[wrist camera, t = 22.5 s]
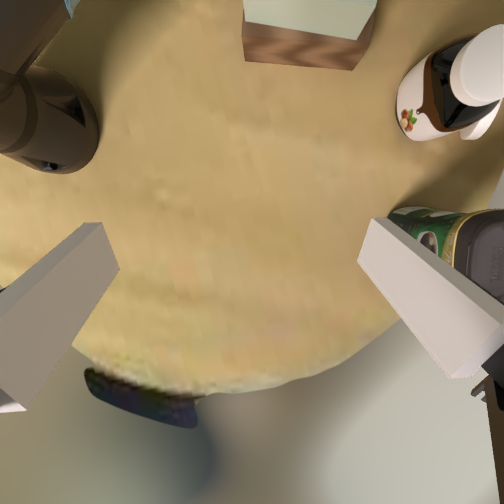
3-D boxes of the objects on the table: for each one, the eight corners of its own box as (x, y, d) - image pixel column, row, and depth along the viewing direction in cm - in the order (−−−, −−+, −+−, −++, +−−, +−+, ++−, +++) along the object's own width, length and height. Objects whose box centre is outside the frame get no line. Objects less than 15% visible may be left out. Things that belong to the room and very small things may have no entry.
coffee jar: (429, 259, 39) (569, 310, 21) (381, 264, 40) (479, 317, 22) (431, 202, 37) (590, 205, 19) (381, 208, 38) (489, 216, 20)
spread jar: (386, 83, 34) (448, 24, 22) (466, 51, 32) (576, -29, 21) (402, 163, 36) (465, 147, 25) (477, 137, 35) (581, 107, 23)
